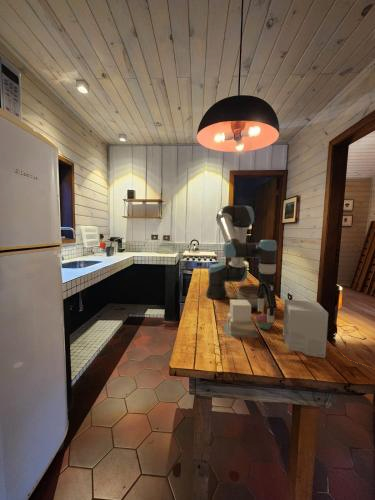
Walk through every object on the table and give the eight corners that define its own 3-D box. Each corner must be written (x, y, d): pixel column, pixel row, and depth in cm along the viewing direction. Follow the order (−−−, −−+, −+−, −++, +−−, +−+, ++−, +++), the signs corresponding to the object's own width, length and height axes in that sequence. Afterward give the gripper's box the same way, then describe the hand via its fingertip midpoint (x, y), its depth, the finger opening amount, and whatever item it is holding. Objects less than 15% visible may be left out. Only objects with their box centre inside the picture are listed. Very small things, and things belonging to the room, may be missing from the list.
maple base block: (226, 324, 106) (227, 312, 105) (247, 325, 106) (247, 313, 105) (230, 334, 96) (231, 321, 95) (253, 334, 96) (253, 321, 95)
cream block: (229, 313, 104) (229, 299, 104) (246, 313, 104) (246, 299, 104) (232, 320, 96) (233, 305, 96) (250, 320, 96) (251, 305, 96)
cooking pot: (268, 303, 142) (269, 285, 141) (277, 314, 123) (278, 293, 122) (229, 301, 144) (230, 283, 143) (232, 312, 125) (233, 291, 124)
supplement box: (315, 341, 93) (318, 301, 92) (326, 358, 81) (329, 313, 79) (282, 337, 97) (284, 298, 95) (287, 352, 84) (289, 309, 83)
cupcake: (261, 333, 99) (263, 308, 98) (251, 326, 108) (252, 302, 107) (277, 331, 102) (279, 306, 101) (266, 324, 110) (267, 301, 109)
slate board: (222, 325, 108) (222, 322, 108) (250, 325, 108) (250, 323, 108) (226, 339, 94) (226, 336, 94) (259, 339, 94) (259, 337, 94)
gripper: (251, 268, 115) (250, 307, 116) (268, 277, 90) (266, 327, 91) (265, 268, 115) (264, 307, 116) (286, 277, 90) (284, 327, 91)
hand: (265, 316), depth 104 cm, fingers open, 13 cm apart
